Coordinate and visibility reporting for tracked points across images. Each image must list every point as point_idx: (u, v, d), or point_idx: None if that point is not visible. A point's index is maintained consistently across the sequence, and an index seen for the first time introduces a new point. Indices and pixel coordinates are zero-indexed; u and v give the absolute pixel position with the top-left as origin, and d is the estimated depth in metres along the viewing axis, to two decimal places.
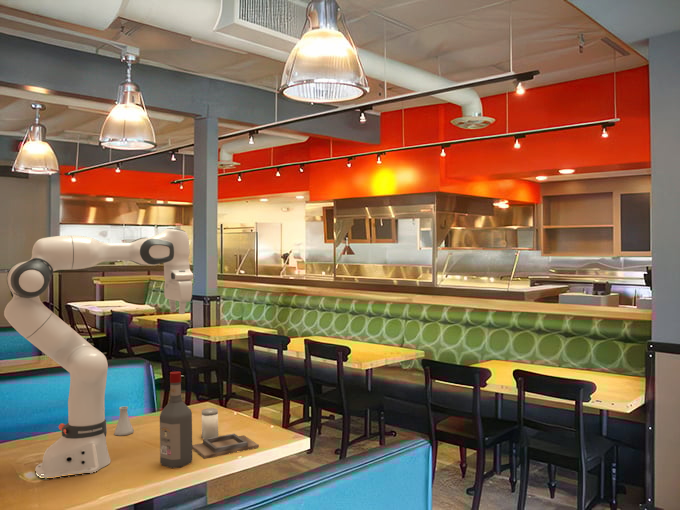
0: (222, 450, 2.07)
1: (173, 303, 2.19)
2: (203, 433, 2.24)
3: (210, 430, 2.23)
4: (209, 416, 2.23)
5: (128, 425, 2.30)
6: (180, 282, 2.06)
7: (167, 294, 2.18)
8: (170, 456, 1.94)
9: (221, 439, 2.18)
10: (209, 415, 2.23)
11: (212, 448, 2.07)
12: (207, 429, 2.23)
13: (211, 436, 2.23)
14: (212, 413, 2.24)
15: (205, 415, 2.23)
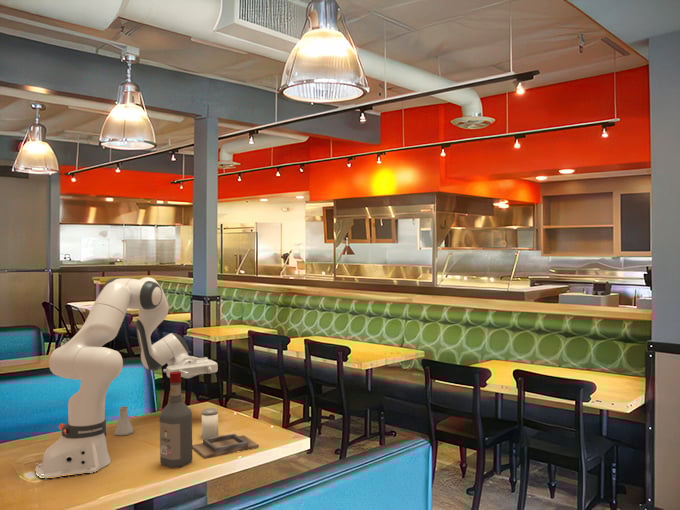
0: (222, 450, 2.07)
1: None
2: (203, 433, 2.24)
3: (210, 430, 2.23)
4: (209, 416, 2.23)
5: (128, 425, 2.30)
6: None
7: (179, 367, 2.38)
8: (170, 456, 1.94)
9: (221, 439, 2.18)
10: (209, 415, 2.23)
11: (212, 448, 2.07)
12: (207, 429, 2.23)
13: (211, 436, 2.23)
14: (212, 413, 2.24)
15: (205, 415, 2.23)
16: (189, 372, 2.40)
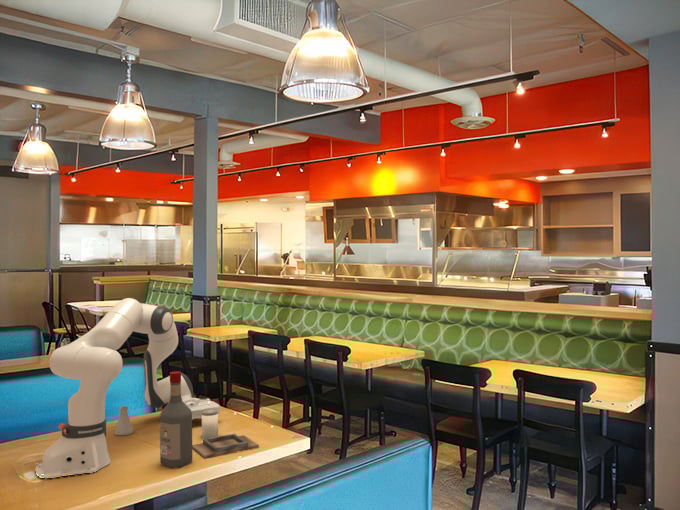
0: (222, 450, 2.07)
1: None
2: (203, 433, 2.24)
3: (210, 430, 2.23)
4: (209, 416, 2.23)
5: (128, 425, 2.30)
6: None
7: None
8: (170, 456, 1.94)
9: (221, 439, 2.18)
10: (209, 415, 2.23)
11: (212, 448, 2.07)
12: (207, 429, 2.23)
13: (211, 436, 2.23)
14: (212, 413, 2.24)
15: (205, 415, 2.23)
16: None
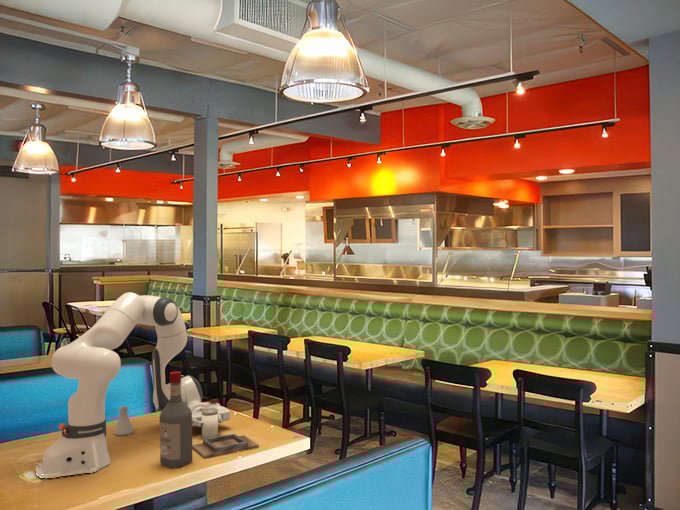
0: (222, 450, 2.07)
1: None
2: (203, 433, 2.24)
3: (210, 430, 2.23)
4: (209, 416, 2.23)
5: (128, 425, 2.30)
6: None
7: None
8: (170, 456, 1.94)
9: (221, 439, 2.18)
10: (209, 415, 2.23)
11: (212, 448, 2.07)
12: (207, 429, 2.23)
13: (211, 436, 2.23)
14: (212, 413, 2.23)
15: (205, 415, 2.23)
16: None
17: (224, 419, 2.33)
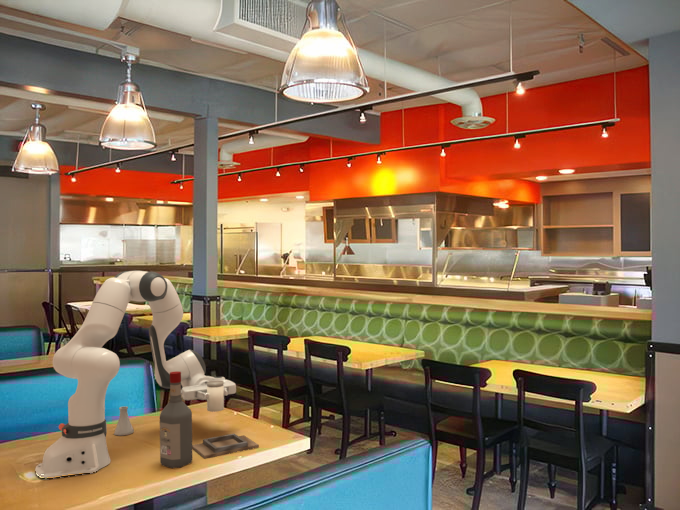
0: (222, 450, 2.07)
1: None
2: (208, 405, 2.18)
3: (216, 402, 2.18)
4: (215, 388, 2.18)
5: (128, 425, 2.30)
6: None
7: (195, 388, 2.22)
8: (170, 456, 1.94)
9: (221, 439, 2.18)
10: (215, 387, 2.18)
11: (212, 448, 2.07)
12: (212, 401, 2.18)
13: (217, 408, 2.18)
14: (218, 385, 2.18)
15: (210, 387, 2.18)
16: None
17: (230, 392, 2.28)
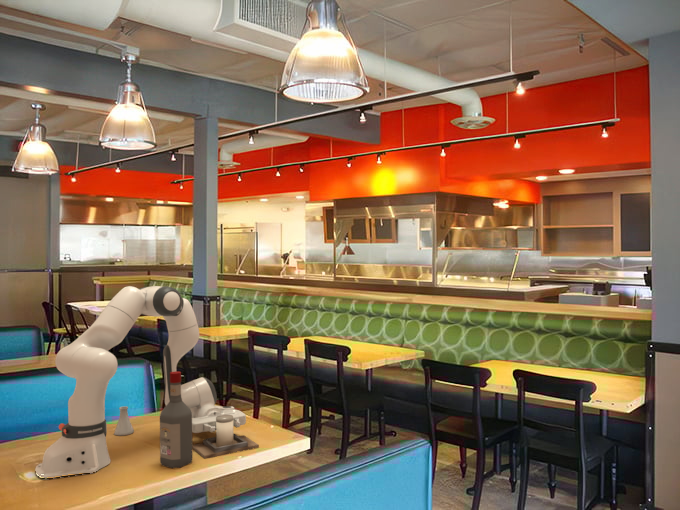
0: (222, 450, 2.07)
1: None
2: (218, 441, 2.11)
3: (225, 438, 2.11)
4: (224, 423, 2.10)
5: (128, 425, 2.30)
6: None
7: (204, 420, 2.15)
8: (170, 456, 1.94)
9: None
10: (224, 422, 2.11)
11: (212, 448, 2.07)
12: (221, 437, 2.11)
13: (226, 444, 2.11)
14: (227, 420, 2.11)
15: (220, 422, 2.11)
16: (215, 426, 2.16)
17: (239, 423, 2.21)
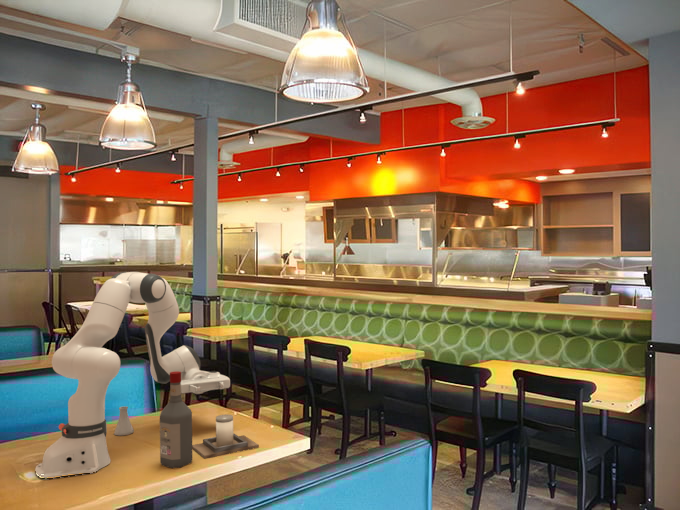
0: (222, 450, 2.07)
1: None
2: (218, 441, 2.11)
3: (225, 438, 2.11)
4: (224, 423, 2.11)
5: (128, 425, 2.30)
6: None
7: (190, 382, 2.27)
8: (170, 456, 1.94)
9: None
10: (224, 422, 2.11)
11: (212, 448, 2.07)
12: (221, 437, 2.11)
13: (226, 444, 2.11)
14: (227, 420, 2.11)
15: (219, 422, 2.11)
16: (200, 387, 2.28)
17: (224, 387, 2.32)
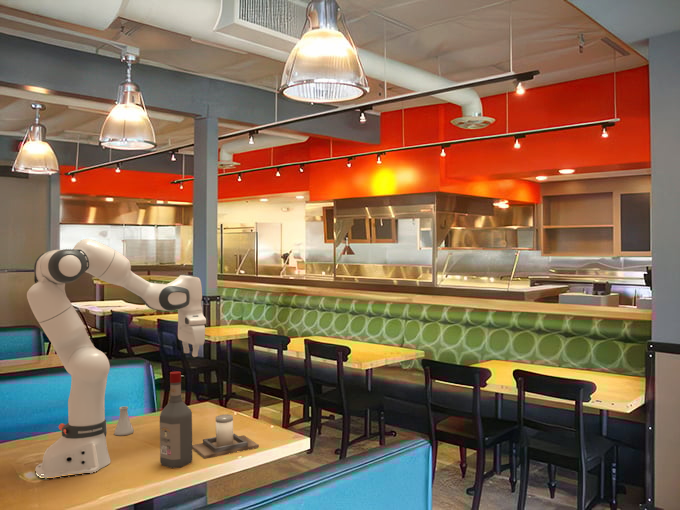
0: (222, 450, 2.07)
1: (186, 344, 2.30)
2: (217, 441, 2.11)
3: (225, 438, 2.11)
4: (224, 423, 2.10)
5: (128, 425, 2.30)
6: (194, 327, 2.16)
7: (181, 336, 2.29)
8: (170, 456, 1.94)
9: None
10: (223, 422, 2.10)
11: (212, 448, 2.07)
12: (221, 437, 2.10)
13: (226, 444, 2.11)
14: (226, 420, 2.11)
15: (219, 422, 2.11)
16: None
17: None
